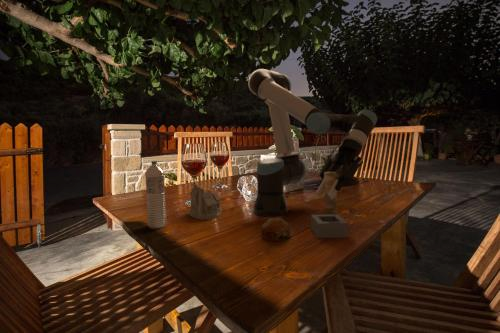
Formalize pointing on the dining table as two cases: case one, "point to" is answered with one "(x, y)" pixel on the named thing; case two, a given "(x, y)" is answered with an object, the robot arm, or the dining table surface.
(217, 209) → the ceramic cottage
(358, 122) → the robot arm
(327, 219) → the socket
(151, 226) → the water bottle
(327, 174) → the dowel
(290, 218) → the dining table surface
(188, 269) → the dining table surface
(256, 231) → the dining table surface
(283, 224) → the bread roll
